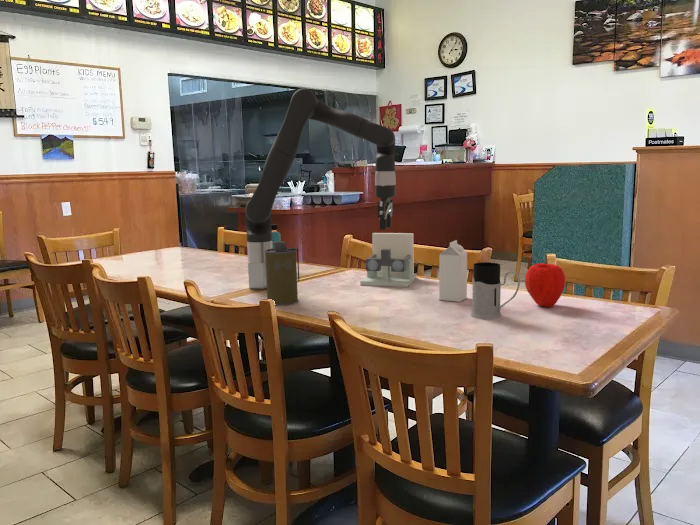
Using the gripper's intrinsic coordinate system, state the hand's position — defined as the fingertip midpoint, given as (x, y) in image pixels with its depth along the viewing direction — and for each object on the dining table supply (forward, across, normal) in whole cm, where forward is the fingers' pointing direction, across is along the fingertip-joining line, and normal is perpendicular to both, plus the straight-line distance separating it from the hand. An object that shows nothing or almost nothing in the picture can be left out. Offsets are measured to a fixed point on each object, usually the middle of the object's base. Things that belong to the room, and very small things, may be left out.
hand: (385, 228), depth 210 cm
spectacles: (+16, -5, 0) cm, 16 cm away
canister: (+21, +34, -27) cm, 49 cm away
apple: (+21, +24, +55) cm, 64 cm away
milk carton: (+21, +20, +27) cm, 40 cm away
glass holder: (+21, +40, +41) cm, 61 cm away
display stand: (+21, -5, 0) cm, 21 cm away
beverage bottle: (+21, -23, -55) cm, 63 cm away
